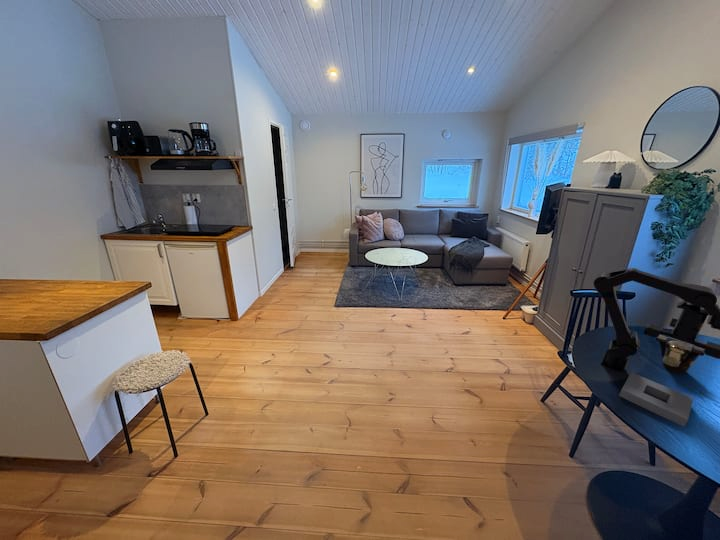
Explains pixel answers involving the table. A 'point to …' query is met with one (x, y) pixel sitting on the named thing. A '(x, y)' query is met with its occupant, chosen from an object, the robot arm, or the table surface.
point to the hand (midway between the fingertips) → (672, 359)
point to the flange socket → (672, 410)
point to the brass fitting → (675, 354)
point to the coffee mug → (682, 367)
